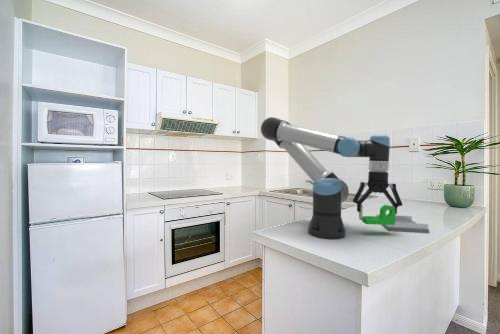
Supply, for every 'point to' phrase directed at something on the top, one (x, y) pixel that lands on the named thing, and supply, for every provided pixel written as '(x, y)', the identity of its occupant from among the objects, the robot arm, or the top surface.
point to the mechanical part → (381, 217)
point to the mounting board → (406, 228)
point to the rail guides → (407, 225)
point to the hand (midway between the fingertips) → (376, 220)
